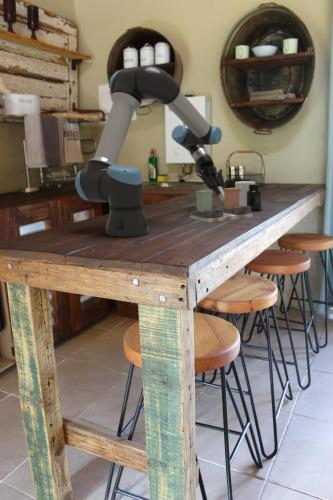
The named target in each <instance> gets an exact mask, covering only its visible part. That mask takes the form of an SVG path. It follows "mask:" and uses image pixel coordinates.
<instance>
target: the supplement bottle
mask: <svg viewBox="0 0 333 500" xmlns="http://www.w3.org/2000/svg"><path fill="white" fill-rule="evenodd" d="M260 188H261V187H260V183H255V184H249V190H248V191H247V206H251V212H261V211H262V210H263V204H262V201H263V199H262V197H263V193H262V190H260Z"/></svg>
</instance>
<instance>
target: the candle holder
mask: <svg viewBox="0 0 333 500" xmlns="http://www.w3.org/2000/svg"><path fill="white" fill-rule="evenodd" d="M249 184H257V183H256V181H249V180H248V181H247V180H246V181H245V180H243V181H235V182H234V186H235V187H234V188H241V192H240V200H239V206H247V191H248V190H249Z"/></svg>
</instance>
